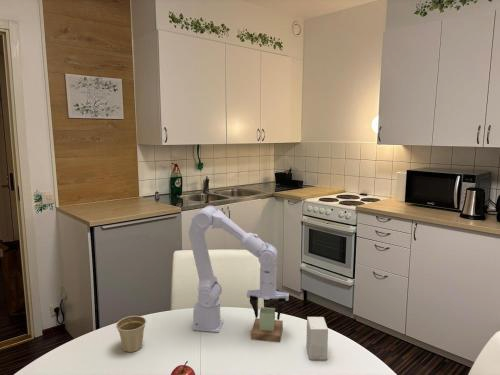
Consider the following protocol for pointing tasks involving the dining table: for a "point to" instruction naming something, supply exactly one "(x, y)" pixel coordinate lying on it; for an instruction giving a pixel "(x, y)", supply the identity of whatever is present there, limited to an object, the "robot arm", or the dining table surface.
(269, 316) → the sage block
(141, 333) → the flower pot
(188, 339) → the dining table surface
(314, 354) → the small box
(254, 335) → the walnut pad
